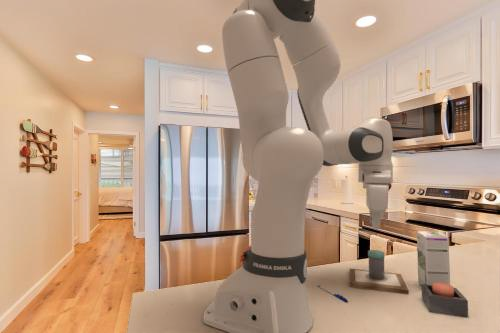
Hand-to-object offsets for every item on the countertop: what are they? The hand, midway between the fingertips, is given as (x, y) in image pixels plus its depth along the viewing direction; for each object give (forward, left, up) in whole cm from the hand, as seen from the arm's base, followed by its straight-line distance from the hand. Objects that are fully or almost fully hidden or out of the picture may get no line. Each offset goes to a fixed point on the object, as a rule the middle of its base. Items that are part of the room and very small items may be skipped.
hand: (374, 226), depth 78 cm
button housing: (+13, -11, -16) cm, 23 cm away
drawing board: (0, 0, -16) cm, 16 cm away
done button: (+13, -11, -13) cm, 21 cm away
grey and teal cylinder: (0, 0, -14) cm, 14 cm away
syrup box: (+14, +1, -16) cm, 21 cm away
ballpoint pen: (-11, -12, -16) cm, 23 cm away
